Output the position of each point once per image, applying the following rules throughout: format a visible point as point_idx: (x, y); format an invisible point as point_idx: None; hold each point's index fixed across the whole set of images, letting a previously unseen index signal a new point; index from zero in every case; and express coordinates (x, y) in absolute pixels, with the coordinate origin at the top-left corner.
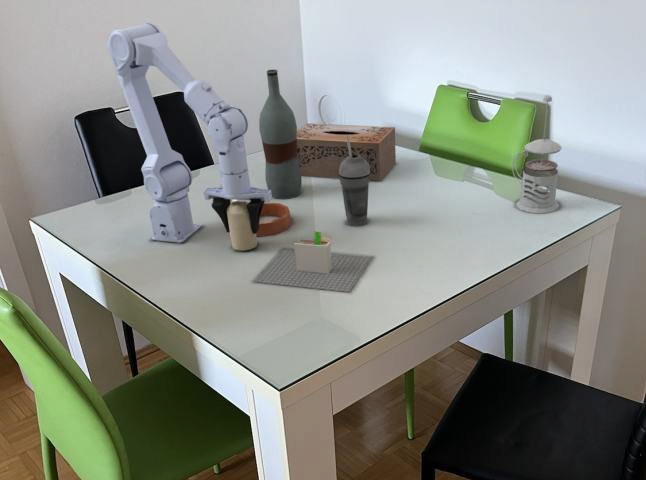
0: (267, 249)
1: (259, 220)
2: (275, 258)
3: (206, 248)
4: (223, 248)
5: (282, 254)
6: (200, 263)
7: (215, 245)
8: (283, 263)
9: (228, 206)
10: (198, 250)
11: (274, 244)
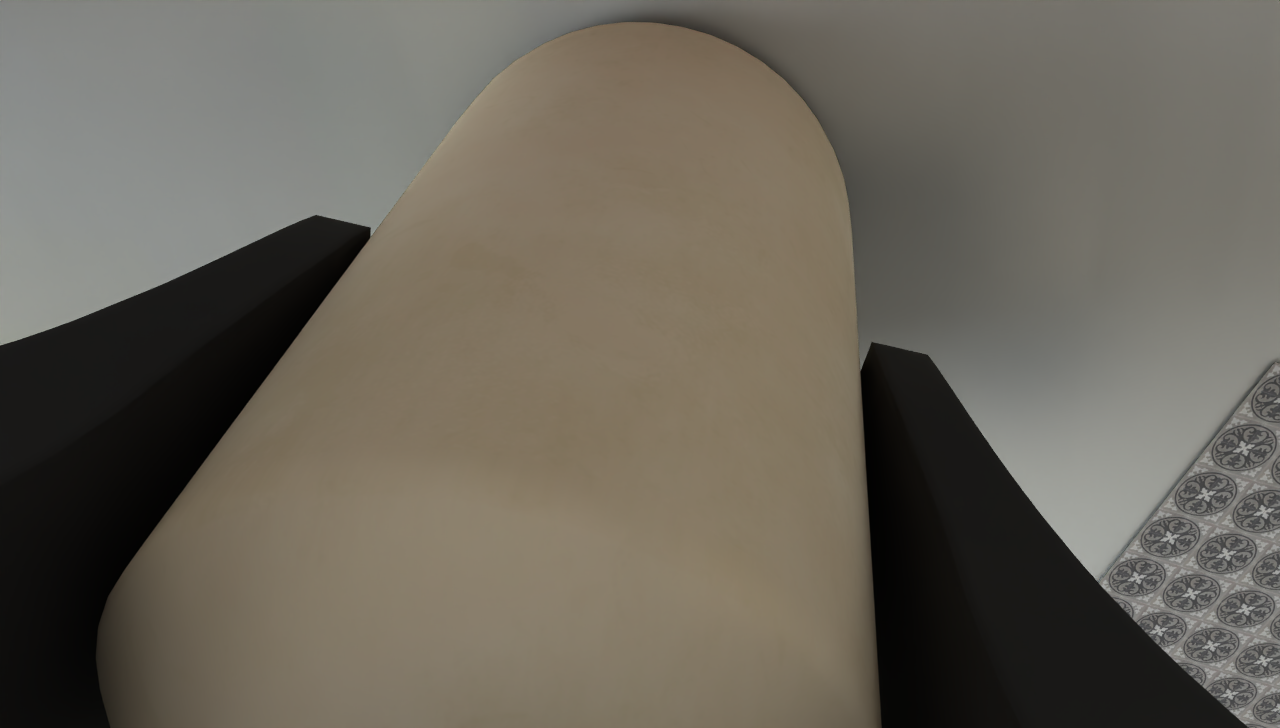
0: (1011, 329)
1: (1004, 475)
2: (1105, 576)
3: (85, 188)
4: (333, 217)
5: (1220, 504)
6: None
7: (165, 101)
8: None
9: (61, 608)
10: (11, 236)
11: (1147, 173)
